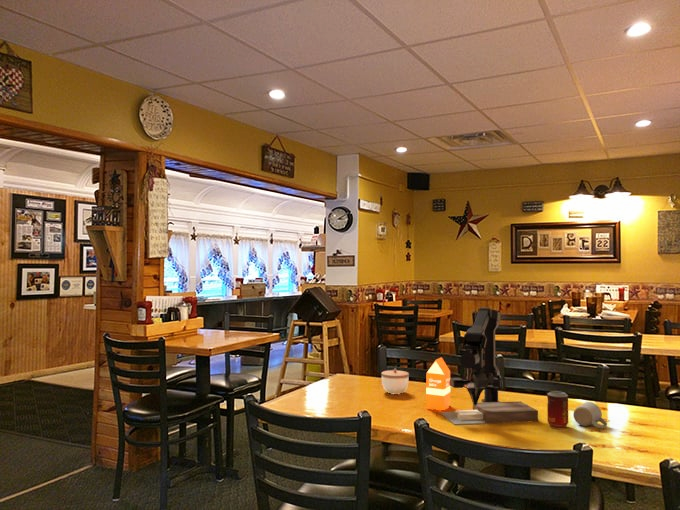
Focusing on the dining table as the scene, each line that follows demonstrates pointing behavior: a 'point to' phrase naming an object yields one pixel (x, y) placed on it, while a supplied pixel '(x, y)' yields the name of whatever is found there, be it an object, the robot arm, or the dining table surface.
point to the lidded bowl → (395, 381)
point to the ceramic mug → (589, 415)
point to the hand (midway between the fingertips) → (474, 404)
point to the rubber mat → (456, 421)
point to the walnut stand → (506, 412)
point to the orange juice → (438, 386)
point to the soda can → (557, 409)
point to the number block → (468, 414)
